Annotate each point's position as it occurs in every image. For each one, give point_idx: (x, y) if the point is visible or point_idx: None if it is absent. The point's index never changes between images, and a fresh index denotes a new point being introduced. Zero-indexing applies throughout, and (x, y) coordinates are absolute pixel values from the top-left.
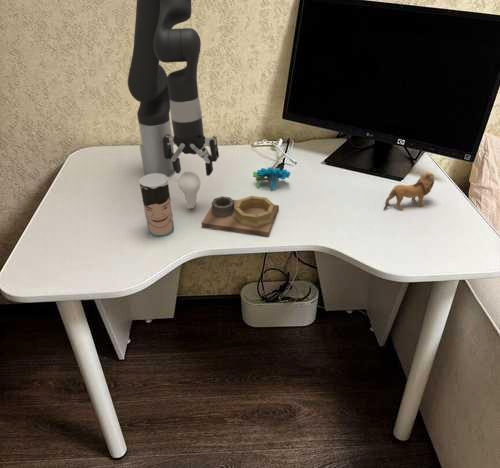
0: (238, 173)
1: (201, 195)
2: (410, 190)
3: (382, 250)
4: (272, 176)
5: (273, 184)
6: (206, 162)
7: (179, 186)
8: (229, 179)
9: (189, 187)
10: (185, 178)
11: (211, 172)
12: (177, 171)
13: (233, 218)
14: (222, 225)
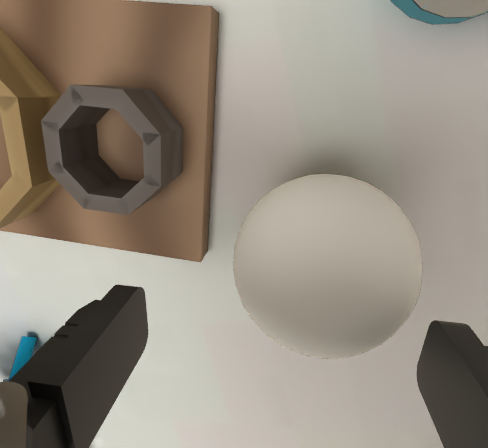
0: (183, 435)
1: None
2: None
3: None
4: None
5: (16, 357)
6: (24, 398)
7: (396, 204)
8: (204, 403)
9: (299, 182)
10: (343, 244)
11: (82, 307)
12: (454, 334)
13: (65, 86)
14: (91, 1)
